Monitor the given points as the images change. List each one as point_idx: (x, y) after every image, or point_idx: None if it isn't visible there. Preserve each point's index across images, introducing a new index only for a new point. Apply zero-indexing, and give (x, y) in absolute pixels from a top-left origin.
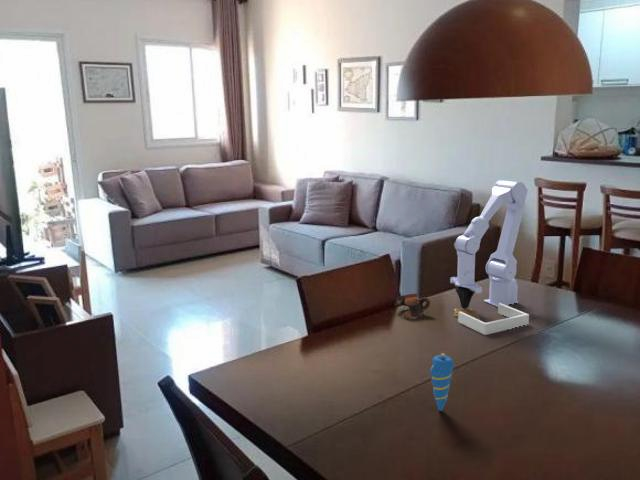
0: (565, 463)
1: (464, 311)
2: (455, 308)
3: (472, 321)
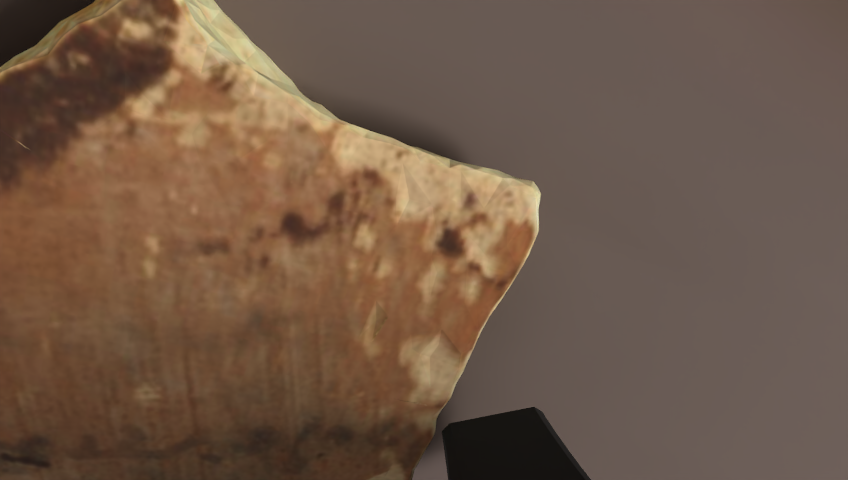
0: None
1: (177, 360)
2: (534, 239)
3: None
